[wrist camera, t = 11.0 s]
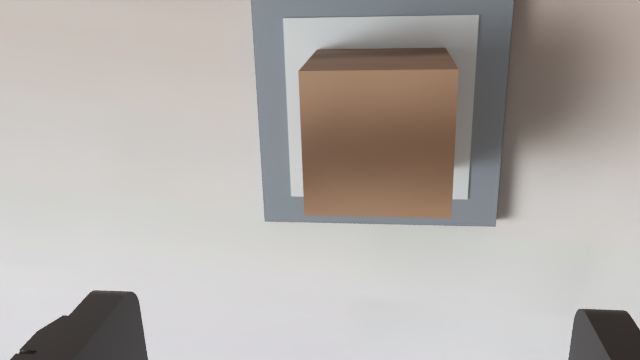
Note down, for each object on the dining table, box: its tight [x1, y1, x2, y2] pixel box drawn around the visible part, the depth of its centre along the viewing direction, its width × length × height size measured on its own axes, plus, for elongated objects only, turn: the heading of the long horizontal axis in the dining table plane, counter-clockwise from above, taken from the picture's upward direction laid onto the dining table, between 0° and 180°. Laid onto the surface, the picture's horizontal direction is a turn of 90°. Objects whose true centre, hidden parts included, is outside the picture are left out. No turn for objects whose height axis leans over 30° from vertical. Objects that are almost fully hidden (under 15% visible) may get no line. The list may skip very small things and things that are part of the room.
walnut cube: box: [298, 48, 459, 218], centre depth 26 cm, size 6×6×6 cm
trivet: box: [251, 0, 514, 227], centre depth 29 cm, size 12×12×1 cm
